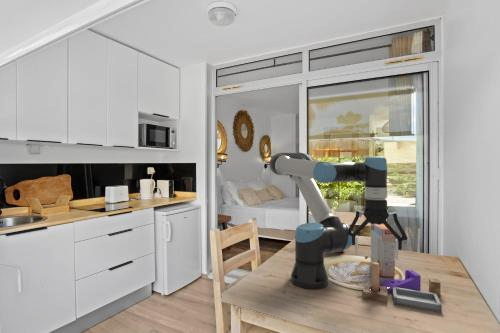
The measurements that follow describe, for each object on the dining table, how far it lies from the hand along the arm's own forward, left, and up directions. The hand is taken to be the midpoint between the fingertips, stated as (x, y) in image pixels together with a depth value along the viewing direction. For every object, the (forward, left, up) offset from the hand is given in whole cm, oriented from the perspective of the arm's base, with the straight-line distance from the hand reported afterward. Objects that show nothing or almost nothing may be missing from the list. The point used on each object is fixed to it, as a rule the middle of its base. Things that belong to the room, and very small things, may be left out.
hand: (376, 256), depth 104 cm
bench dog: (+20, +11, -15) cm, 27 cm away
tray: (+13, +1, -15) cm, 20 cm away
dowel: (0, 0, -15) cm, 15 cm away
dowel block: (0, 0, -15) cm, 15 cm away
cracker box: (+3, +27, -15) cm, 31 cm away
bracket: (+9, +11, -15) cm, 21 cm away
